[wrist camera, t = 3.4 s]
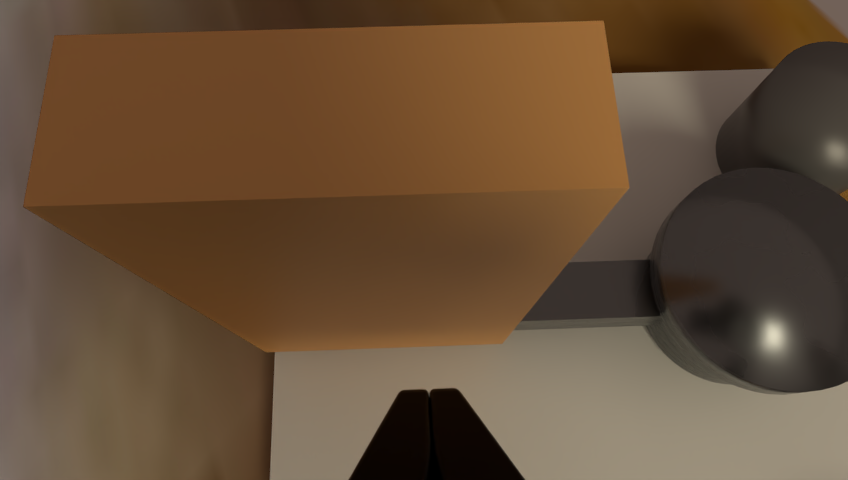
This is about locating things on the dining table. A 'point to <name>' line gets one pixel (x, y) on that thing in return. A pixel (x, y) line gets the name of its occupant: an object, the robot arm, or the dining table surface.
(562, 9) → the dining table surface
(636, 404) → the base plate
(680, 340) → the brown piece
